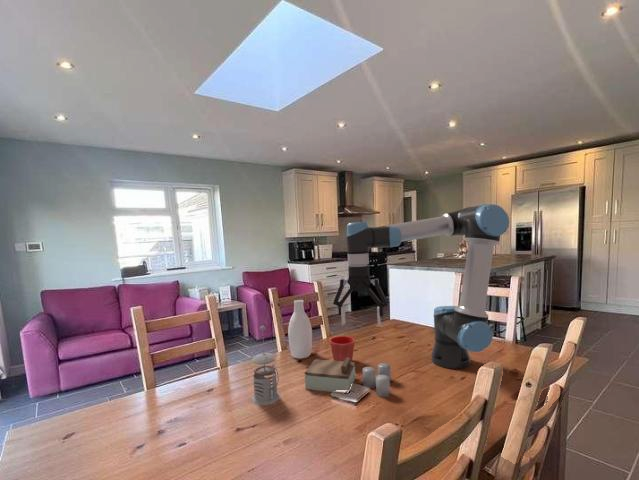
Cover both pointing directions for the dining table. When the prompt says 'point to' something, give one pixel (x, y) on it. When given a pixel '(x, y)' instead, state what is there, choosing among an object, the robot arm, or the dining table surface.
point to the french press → (265, 379)
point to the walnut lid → (331, 368)
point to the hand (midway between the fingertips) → (361, 324)
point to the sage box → (329, 382)
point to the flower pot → (342, 348)
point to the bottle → (300, 332)
